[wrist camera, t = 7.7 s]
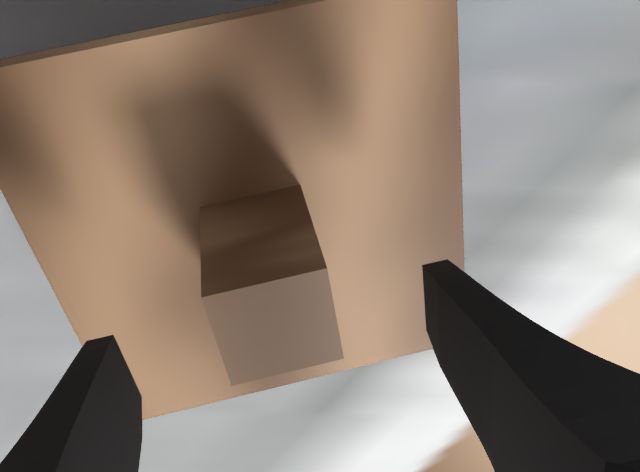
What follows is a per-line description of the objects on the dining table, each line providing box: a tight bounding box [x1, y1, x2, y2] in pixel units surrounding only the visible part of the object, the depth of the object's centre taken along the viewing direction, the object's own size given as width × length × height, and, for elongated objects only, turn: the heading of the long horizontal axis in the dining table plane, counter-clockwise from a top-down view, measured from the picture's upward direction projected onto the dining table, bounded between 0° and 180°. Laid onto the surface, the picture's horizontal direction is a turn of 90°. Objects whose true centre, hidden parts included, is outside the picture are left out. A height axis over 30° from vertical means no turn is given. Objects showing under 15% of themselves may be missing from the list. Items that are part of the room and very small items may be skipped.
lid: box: [0, 0, 464, 420], centre depth 16 cm, size 12×12×5 cm
